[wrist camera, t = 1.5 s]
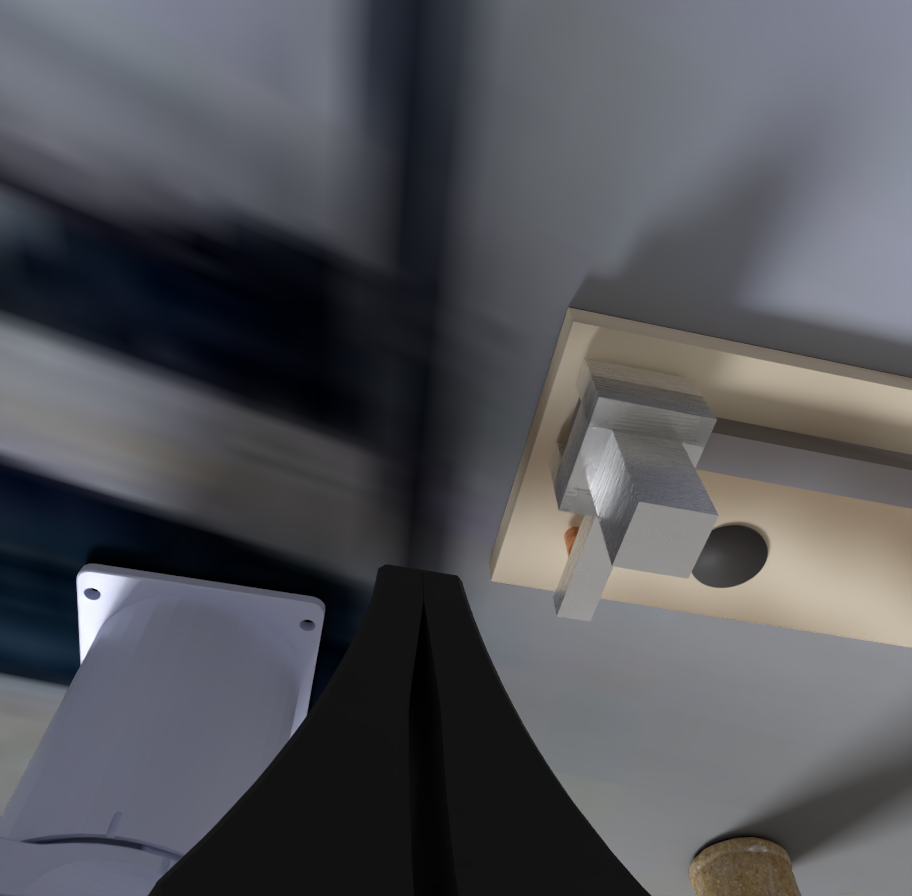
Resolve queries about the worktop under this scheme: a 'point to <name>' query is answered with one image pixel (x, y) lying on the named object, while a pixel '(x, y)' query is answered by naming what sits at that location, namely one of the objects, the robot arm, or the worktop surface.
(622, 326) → the board
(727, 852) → the sprinkles bottle
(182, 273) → the worktop surface
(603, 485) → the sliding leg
